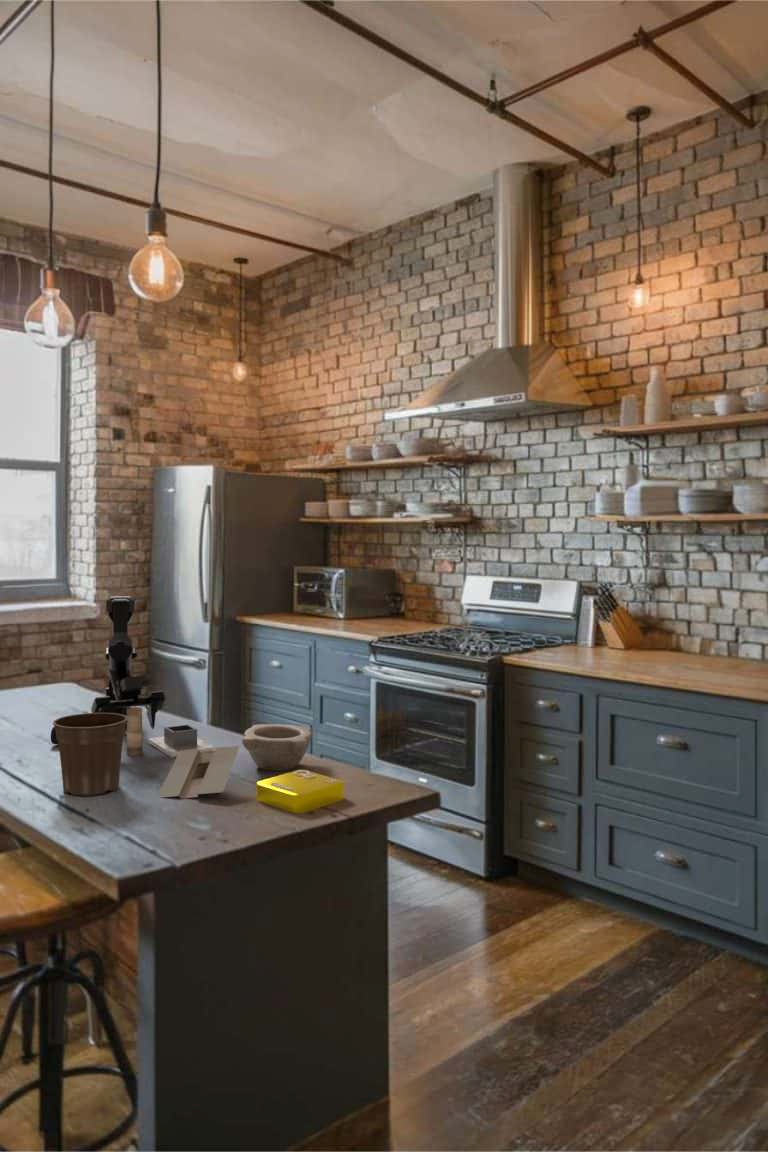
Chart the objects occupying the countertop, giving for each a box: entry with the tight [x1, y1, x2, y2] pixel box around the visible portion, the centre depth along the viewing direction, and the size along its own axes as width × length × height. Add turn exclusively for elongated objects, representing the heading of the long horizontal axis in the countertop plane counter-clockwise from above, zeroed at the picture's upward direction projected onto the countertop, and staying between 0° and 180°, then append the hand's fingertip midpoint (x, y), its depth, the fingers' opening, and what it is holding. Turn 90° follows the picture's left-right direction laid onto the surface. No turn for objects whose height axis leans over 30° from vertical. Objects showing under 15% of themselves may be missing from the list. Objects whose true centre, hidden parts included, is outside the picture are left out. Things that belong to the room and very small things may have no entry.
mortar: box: [241, 723, 313, 772], centre depth 219 cm, size 17×17×9 cm
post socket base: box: [147, 724, 215, 759], centre depth 237 cm, size 18×12×5 cm, turn 34°
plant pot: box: [52, 712, 128, 797], centre depth 198 cm, size 16×16×16 cm
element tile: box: [255, 769, 345, 814], centre depth 193 cm, size 15×15×5 cm
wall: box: [156, 745, 240, 799], centre depth 199 cm, size 16×9×15 cm
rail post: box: [126, 706, 143, 757], centre depth 229 cm, size 4×4×12 cm
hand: (136, 730), depth 228 cm, fingers open, 9 cm apart
